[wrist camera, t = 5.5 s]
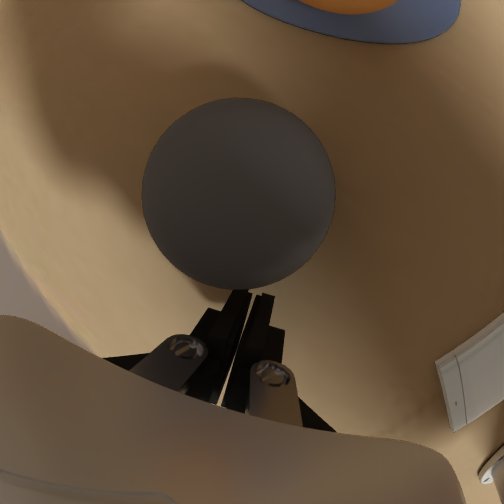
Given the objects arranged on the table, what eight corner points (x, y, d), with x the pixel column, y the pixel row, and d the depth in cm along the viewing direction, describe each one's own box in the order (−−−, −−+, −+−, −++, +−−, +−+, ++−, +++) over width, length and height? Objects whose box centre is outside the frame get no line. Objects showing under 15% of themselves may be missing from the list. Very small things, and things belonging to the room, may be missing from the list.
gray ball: (308, 342, 8) (344, 210, 12) (303, 192, 4) (346, 74, 7) (156, 296, 11) (220, 193, 14) (67, 177, 6) (183, 80, 9)
